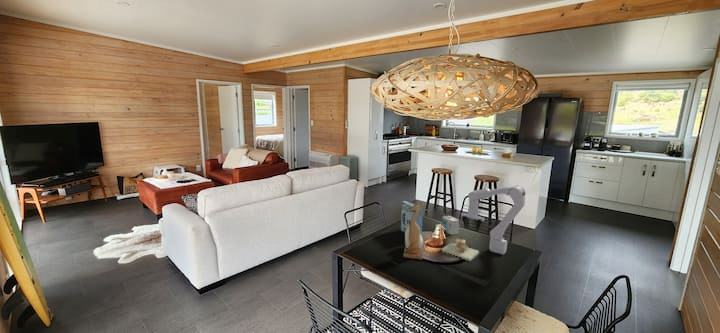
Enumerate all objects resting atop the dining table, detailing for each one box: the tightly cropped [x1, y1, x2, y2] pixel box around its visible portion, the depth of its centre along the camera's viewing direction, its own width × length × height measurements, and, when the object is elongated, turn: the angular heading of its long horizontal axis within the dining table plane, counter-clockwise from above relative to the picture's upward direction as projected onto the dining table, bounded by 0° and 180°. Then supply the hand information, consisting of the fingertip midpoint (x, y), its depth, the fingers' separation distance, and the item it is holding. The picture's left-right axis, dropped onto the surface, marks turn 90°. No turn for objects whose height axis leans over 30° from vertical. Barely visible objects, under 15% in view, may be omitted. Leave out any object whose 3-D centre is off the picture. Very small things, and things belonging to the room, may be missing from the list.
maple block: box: [455, 238, 466, 252], centre depth 181 cm, size 5×5×6 cm
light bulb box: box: [441, 215, 460, 235], centre depth 213 cm, size 11×7×11 cm, turn 25°
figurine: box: [404, 227, 424, 249], centre depth 181 cm, size 11×11×15 cm
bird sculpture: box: [402, 202, 424, 260], centre depth 173 cm, size 11×12×32 cm
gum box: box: [400, 200, 424, 237], centre depth 202 cm, size 19×5×23 cm, turn 22°
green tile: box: [440, 242, 480, 262], centre depth 181 cm, size 18×14×2 cm
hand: (471, 229), depth 195 cm, fingers open, 7 cm apart
